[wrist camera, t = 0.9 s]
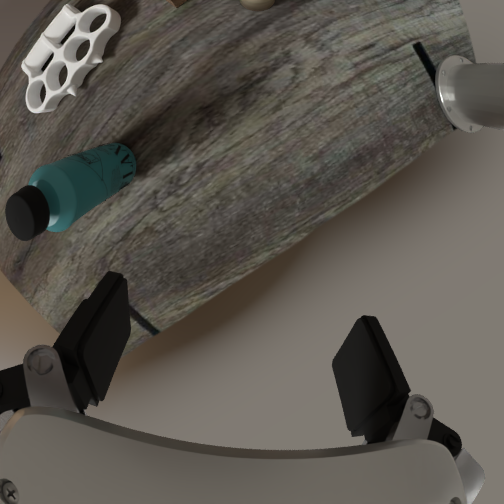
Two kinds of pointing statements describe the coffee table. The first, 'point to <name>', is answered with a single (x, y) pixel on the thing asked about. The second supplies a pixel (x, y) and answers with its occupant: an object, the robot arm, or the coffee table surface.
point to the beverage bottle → (69, 190)
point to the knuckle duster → (66, 54)
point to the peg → (257, 4)
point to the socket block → (176, 2)
